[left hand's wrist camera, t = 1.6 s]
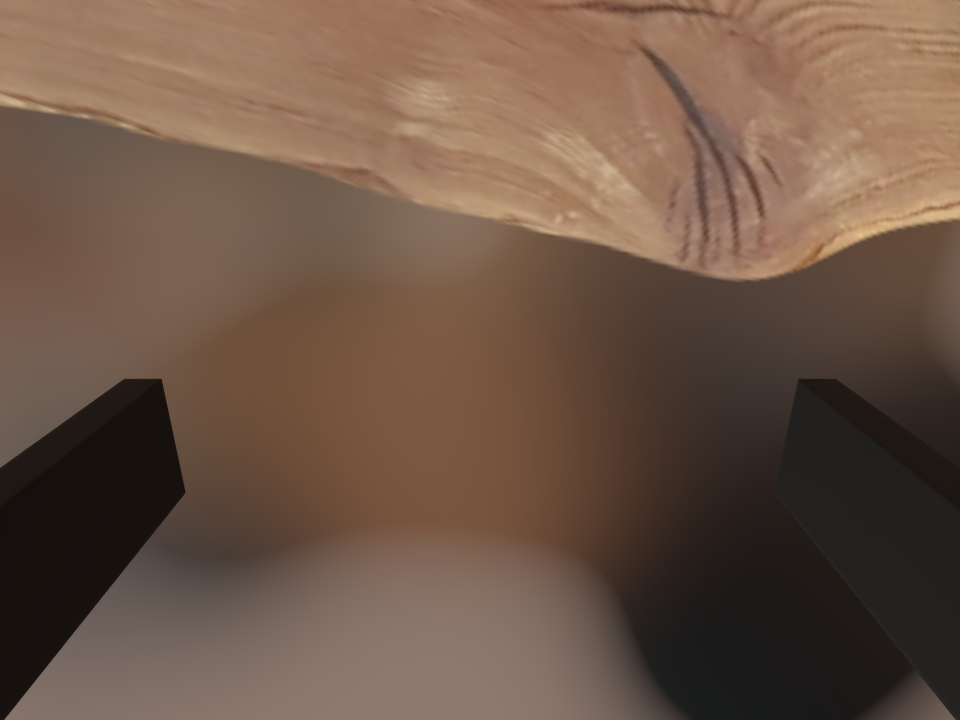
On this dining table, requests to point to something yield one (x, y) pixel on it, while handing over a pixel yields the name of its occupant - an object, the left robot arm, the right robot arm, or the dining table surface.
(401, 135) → the dining table surface
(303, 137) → the dining table surface
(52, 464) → the left robot arm
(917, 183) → the dining table surface
